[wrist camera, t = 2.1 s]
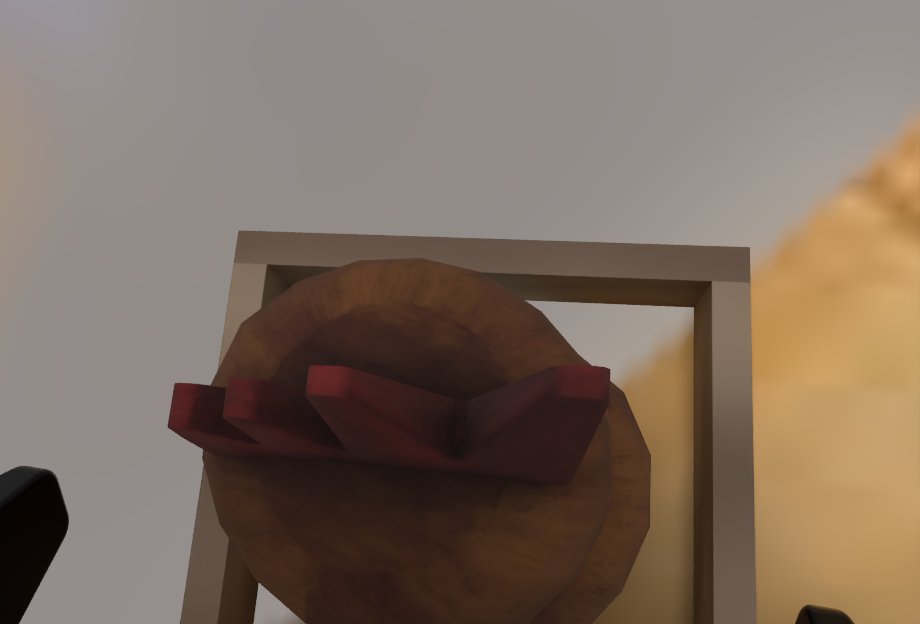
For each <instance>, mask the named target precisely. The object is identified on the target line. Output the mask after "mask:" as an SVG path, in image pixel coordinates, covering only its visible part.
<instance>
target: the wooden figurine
mask: <svg viewBox="0 0 920 624" xmlns="http://www.w3.org/2000/svg"><path fill="white" fill-rule="evenodd" d="M168 428H170V429H171V430H172V431H174V432H175V433H177V434H178V435H180V436H181V437H183V438H184V439H186V440H188V441H190V442H191V443H193V444H195V445H197V446H198V447H200V448H202V449H203V457H202V459H203V462H204V467H205V470H206V474H207V478H208V482H209V486H210V490H211V493H212V497H213V501H214V505H215V509H216V513H217V516H218V520H219V524H220V526H221V527H222V529H223V530H224V532H225V533H226V535H227V536H228V538H229V539H230V541H231V542H232V544H233V546H234V547H235V549H236V550H237V552H238V553H239V555H240V556H241V558H242V559H243V561H244V562H245V564H246V566H247V567H248V569H249V570H250V572H251V573H252V575H253V576H254V578H255V579H256V580H257V581H258V582H259V583H260V584H261V585H263V586H264V587H265V588H266V589H267V590H268V591H269V592H270V593H272V594H273V595H274V596H275V597H276V598H277V599H278V600H280V601H281V602H282V603H283V604H284V605H285V606H286V607H288V608H289V609H290V610H291V611H292V612H293V613H294V614H296V615H297V616H298V617H299V618H300V619H301V620H302V621H303V622H305V623H306V624H591V623H592V622H593V621H594V620H595V619H596V618H597V617H598V616H599V615H600V614H601V613H602V612H603V611H604V610H605V608H606V607H607V606H608V605H609V604H610V603H611V602H612V601H613V600H614V599H615V598H616V597H617V596H618V595H619V594H620V592H621V591H622V589H623V587H624V585H625V582H626V580H627V578H628V576H629V573H630V571H631V569H632V566H633V564H634V562H635V559H636V557H637V555H638V552H639V550H640V548H641V546H642V543H643V541H644V539H645V536H646V534H647V532H648V529H649V527H650V470H651V455H650V453H649V450H648V448H647V446H646V443H645V441H644V439H643V436H642V434H641V432H640V429H639V427H638V425H637V422H636V420H635V418H634V415H633V413H632V411H631V408H630V406H629V404H628V401H627V399H626V397H625V394H624V392H623V391H622V390H620V389H619V388H618V387H617V386H616V385H614V384H613V383H612V382H611V381H610V369H608V368H605V367H598V366H591V365H590V364H589V363H588V362H587V361H586V360H584V359H583V358H582V357H581V356H580V355H578V354H577V352H576V351H575V350H574V349H573V348H572V347H571V345H570V344H569V343H568V342H567V341H566V340H565V339H564V337H563V336H562V335H561V334H560V333H559V331H558V330H557V329H556V328H555V327H554V326H553V325H552V323H551V322H550V321H549V320H548V319H547V318H546V316H545V315H544V314H543V313H542V312H541V311H539V310H538V309H536V308H535V307H534V306H532V305H531V304H529V303H528V302H526V301H525V300H523V299H522V298H520V297H519V296H517V295H515V294H514V293H512V292H511V291H509V290H508V289H506V288H505V287H503V286H502V285H500V284H499V283H497V282H496V281H494V280H493V279H491V278H490V277H488V276H486V275H485V274H483V273H481V272H479V271H474V270H470V269H466V268H462V267H457V266H453V265H449V264H444V263H440V262H436V261H431V260H427V259H423V258H408V259H381V260H359V261H356V262H353V263H350V264H347V265H344V266H341V267H338V268H336V269H333V270H330V271H327V272H324V273H321V274H318V275H315V276H312V277H310V278H307V279H304V280H301V281H298V282H296V283H295V284H294V285H292V286H291V287H290V288H288V289H287V290H285V291H284V292H283V293H281V294H280V295H279V296H277V297H276V298H275V299H273V300H272V301H271V302H269V303H268V304H266V305H265V306H264V307H262V308H261V309H260V310H258V311H257V312H256V313H254V314H253V315H252V316H250V317H249V318H247V319H246V320H245V321H243V322H242V323H241V325H240V327H239V329H238V331H237V333H236V335H235V337H234V339H233V341H232V343H231V345H230V347H229V349H228V351H227V353H226V355H225V357H224V359H223V361H222V363H221V365H220V367H219V369H218V371H217V374H216V375H215V377H214V379H213V382H212V384H211V386H209V385H202V384H201V385H200V384H190V383H175V385H174V391H173V397H172V404H171V410H170V415H169V422H168Z"/></svg>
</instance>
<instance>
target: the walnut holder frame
mask: <svg viewBox="0 0 920 624" xmlns="http://www.w3.org/2000/svg"><path fill="white" fill-rule="evenodd" d="M408 258H423V259H427V260H431V261H436V262H440V263H444V264H449V265H453V266H457V267H462V268H466V269H470V270H474V271H479V272H481V273H483V274H485V275H486V276H488V277H490V278H491V279H493V280H494V281H496V282H497V283H499V284H500V285H502V286H503V287H505V288H506V289H508V290H509V291H511V292H512V293H514V294H515V295H517V296H519V297H520V298H522V299H523V300H533V301H556V302H580V303H606V304H628V305H653V306H675V307H694V624H756V583H755V524H754V466H753V408H752V350H751V292H750V248H749V247H720V246H689V245H661V244H630V243H599V242H570V241H539V240H508V239H477V238H448V237H418V236H386V235H357V234H325V233H294V232H265V231H239V232H238V239H237V245H236V252H235V258H234V265H233V273H232V279H231V285H230V292H229V299H228V306H227V312H226V319H225V326H224V333H223V339H222V346H221V352H220V359H219V367H220V365H221V363H222V361H223V359H224V357H225V355H226V353H227V351H228V349H229V347H230V345H231V343H232V341H233V339H234V337H235V335H236V333H237V331H238V329H239V327H240V325H241V323H242V322H243V321H245V320H246V319H247V318H249V317H250V316H252V315H253V314H254V313H256V312H257V311H258V310H260V309H261V308H262V307H264V306H265V305H266V304H268V303H269V302H271V301H272V300H273V299H275V298H276V297H277V296H279V295H280V294H281V293H283V292H284V291H285V290H287V289H288V288H290V287H291V286H292V285H294V284H295V283H296V282H298V281H301V280H304V279H307V278H310V277H312V276H315V275H318V274H321V273H324V272H327V271H330V270H333V269H336V268H338V267H341V266H344V265H347V264H350V263H353V262H356V261H359V260H381V259H408ZM219 367H218V369H219ZM258 583H259V582H258V581H257V580H256V579H255V578H254V576H253V575H252V573H251V572H250V570H249V569H248V567H247V566H246V564H245V562H244V561H243V559H242V558H241V556H240V555H239V553H238V552H237V550H236V549H235V547H234V546H233V544H232V542H231V541H230V539H229V538H228V536H227V535H226V533H225V532H224V530H223V529H222V527H221V526H220V524H219V520H218V516H217V513H216V509H215V505H214V501H213V497H212V493H211V490H210V486H209V482H208V478H207V474H206V470H205V467H203V473H202V480H201V488H200V494H199V500H198V507H197V514H196V520H195V527H194V534H193V541H192V547H191V554H190V561H189V568H188V574H187V581H186V588H185V595H184V601H183V608H182V615H181V621H180V624H253V622H254V614H255V605H256V599H257V591H258Z"/></svg>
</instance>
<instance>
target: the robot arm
mask: <svg viewBox="0 0 920 624" xmlns="http://www.w3.org/2000/svg"><path fill="white" fill-rule="evenodd" d="M68 524H69V516H68V512H67V509H66V505H65V502H64V499H63V495H62V492H61V489H60V486H59V483H58V479H57V477H56V475H55V474H54V473H53V472H52V471H50V470H47V469H41V468H35V467H29V466H19V467H16V468H14V469H11V470H9V471H8V472H5V473H4V474H1V475H0V624H19V623H20V621H21V619H22V617H23V615H24V613H25V611H26V609H27V608H28V606H29V604H30V602H31V600H32V598H33V596H34V594H35V592H36V591H37V589H38V587H39V585H40V583H41V581H42V579H43V577H44V575H45V573H46V572H47V570H48V568H49V566H50V564H51V562H52V560H53V558H54V557H55V555H56V553H57V551H58V549H59V547H60V545H61V543H62V541H63V540H64V537H65V535H66V533H67V529H68ZM795 624H854V623H853V621H852V620H851V619H850V617H849V616H848V615H846V614H845V613H844V612H842V611H840V610H837V609H832V608H826V607H820V606H815V605H806V606H804V607H803V608H802V609H801V610H800V612H799V615H798V617H797V620H796V622H795Z"/></svg>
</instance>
